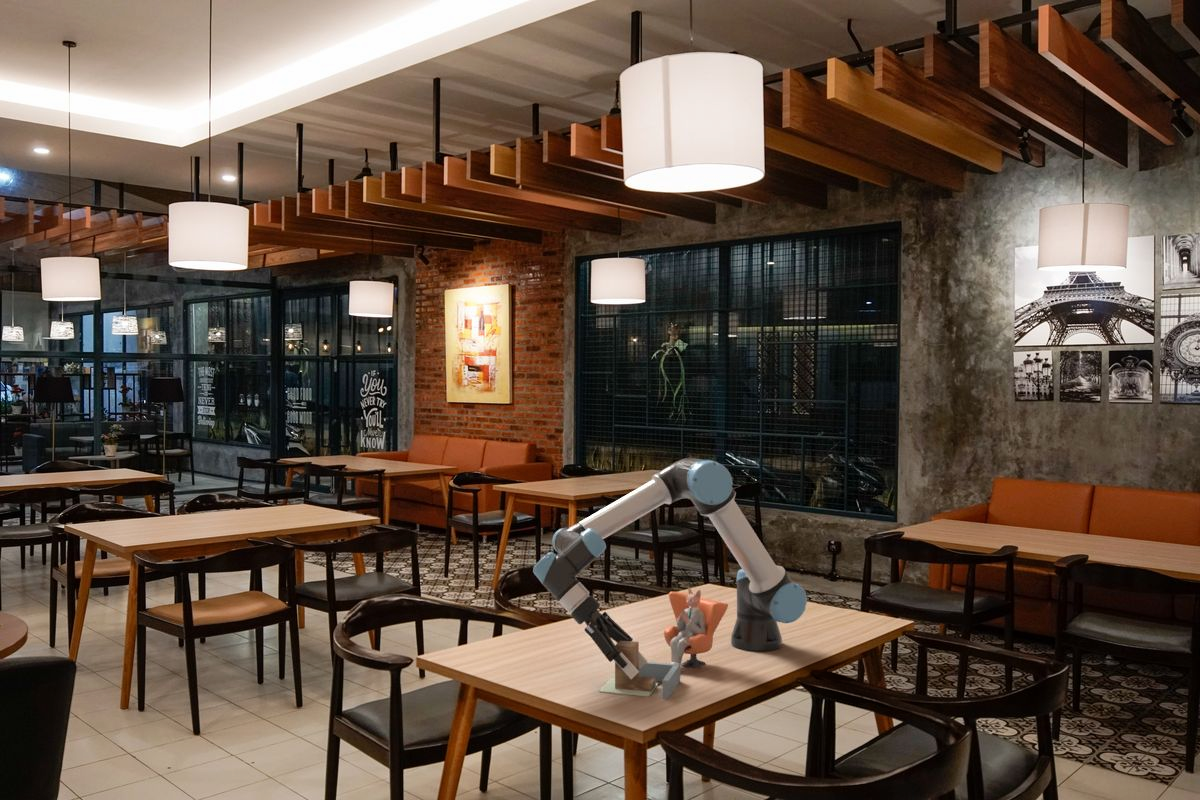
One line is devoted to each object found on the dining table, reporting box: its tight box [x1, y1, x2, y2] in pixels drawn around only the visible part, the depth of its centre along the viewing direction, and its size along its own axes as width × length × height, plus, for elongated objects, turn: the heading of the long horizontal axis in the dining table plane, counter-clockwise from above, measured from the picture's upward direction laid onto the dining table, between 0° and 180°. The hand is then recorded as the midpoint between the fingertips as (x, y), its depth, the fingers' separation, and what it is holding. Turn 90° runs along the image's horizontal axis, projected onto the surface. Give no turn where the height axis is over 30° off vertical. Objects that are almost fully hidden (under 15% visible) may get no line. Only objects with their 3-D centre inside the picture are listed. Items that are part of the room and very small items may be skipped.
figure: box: [663, 587, 729, 670], centre depth 255 cm, size 22×18×21 cm
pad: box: [598, 677, 660, 698], centre depth 237 cm, size 13×11×1 cm
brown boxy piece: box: [614, 640, 657, 693], centre depth 237 cm, size 10×5×11 cm, turn 74°
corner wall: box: [639, 661, 681, 700], centre depth 238 cm, size 15×14×4 cm
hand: (639, 670), depth 237 cm, fingers open, 9 cm apart
